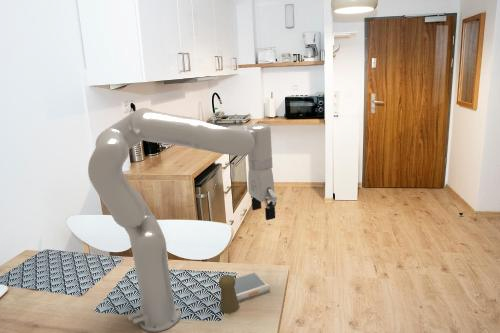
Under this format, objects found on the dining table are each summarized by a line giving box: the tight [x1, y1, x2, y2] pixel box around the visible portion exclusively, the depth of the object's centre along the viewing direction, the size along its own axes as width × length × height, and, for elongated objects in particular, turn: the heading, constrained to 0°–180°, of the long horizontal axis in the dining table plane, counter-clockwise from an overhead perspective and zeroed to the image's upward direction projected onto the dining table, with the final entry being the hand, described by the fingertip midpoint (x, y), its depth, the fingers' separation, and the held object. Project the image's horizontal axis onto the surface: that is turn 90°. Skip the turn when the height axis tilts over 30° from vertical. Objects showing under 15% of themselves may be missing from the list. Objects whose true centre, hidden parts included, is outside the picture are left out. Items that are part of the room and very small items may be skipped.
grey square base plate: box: [234, 272, 271, 303], centre depth 136 cm, size 12×12×2 cm
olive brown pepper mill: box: [218, 274, 240, 315], centre depth 125 cm, size 6×6×11 cm
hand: (263, 213), depth 129 cm, fingers open, 9 cm apart
